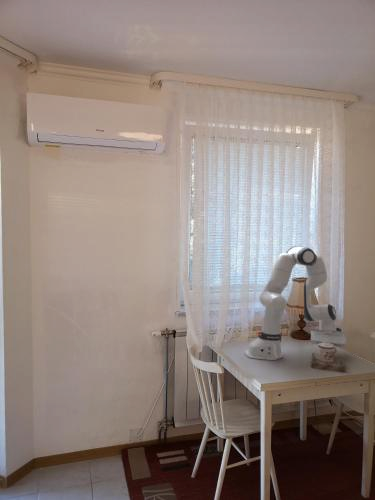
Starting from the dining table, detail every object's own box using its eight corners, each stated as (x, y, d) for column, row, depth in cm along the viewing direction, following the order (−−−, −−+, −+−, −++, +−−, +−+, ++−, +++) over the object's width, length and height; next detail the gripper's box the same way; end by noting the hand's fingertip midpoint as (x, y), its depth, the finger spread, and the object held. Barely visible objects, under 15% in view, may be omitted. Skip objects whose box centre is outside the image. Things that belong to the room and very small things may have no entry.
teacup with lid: (324, 363, 209) (325, 343, 208) (314, 358, 217) (315, 339, 217) (341, 361, 213) (342, 341, 212) (330, 356, 221) (331, 337, 221)
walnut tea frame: (311, 367, 201) (311, 362, 201) (312, 357, 218) (312, 352, 218) (345, 372, 195) (345, 366, 195) (343, 361, 212) (343, 356, 212)
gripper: (310, 326, 227) (309, 346, 218) (346, 330, 220) (346, 350, 211) (310, 331, 231) (309, 351, 222) (345, 335, 224) (345, 355, 215)
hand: (328, 351), depth 216 cm, fingers closed
